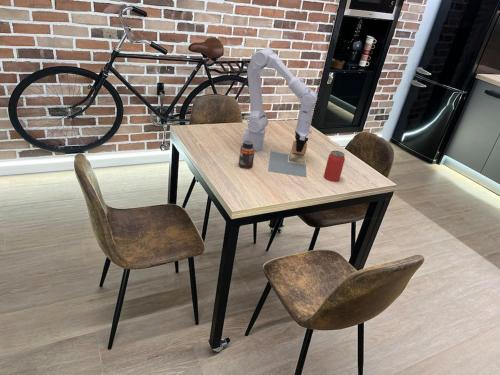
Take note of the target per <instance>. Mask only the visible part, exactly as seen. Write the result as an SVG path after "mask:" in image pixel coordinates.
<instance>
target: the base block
mask: <svg viewBox="0 0 500 375" xmlns="http://www.w3.org/2000/svg"><path fill="white" fill-rule="evenodd" d="M289 154H290V162H297V163H303V164H304V159H305V160H306V154H298V153H292V149H291V150H290V153H289Z"/></svg>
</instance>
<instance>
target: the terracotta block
mask: <svg viewBox="0 0 500 375" xmlns="http://www.w3.org/2000/svg"><path fill="white" fill-rule="evenodd" d="M291 150H292V153H298V154H305V155H306V153H307V150H308V142H306V143H305V145H304V147H303V149H302V151H301V152H297V151H296V140H292V146H291Z"/></svg>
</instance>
